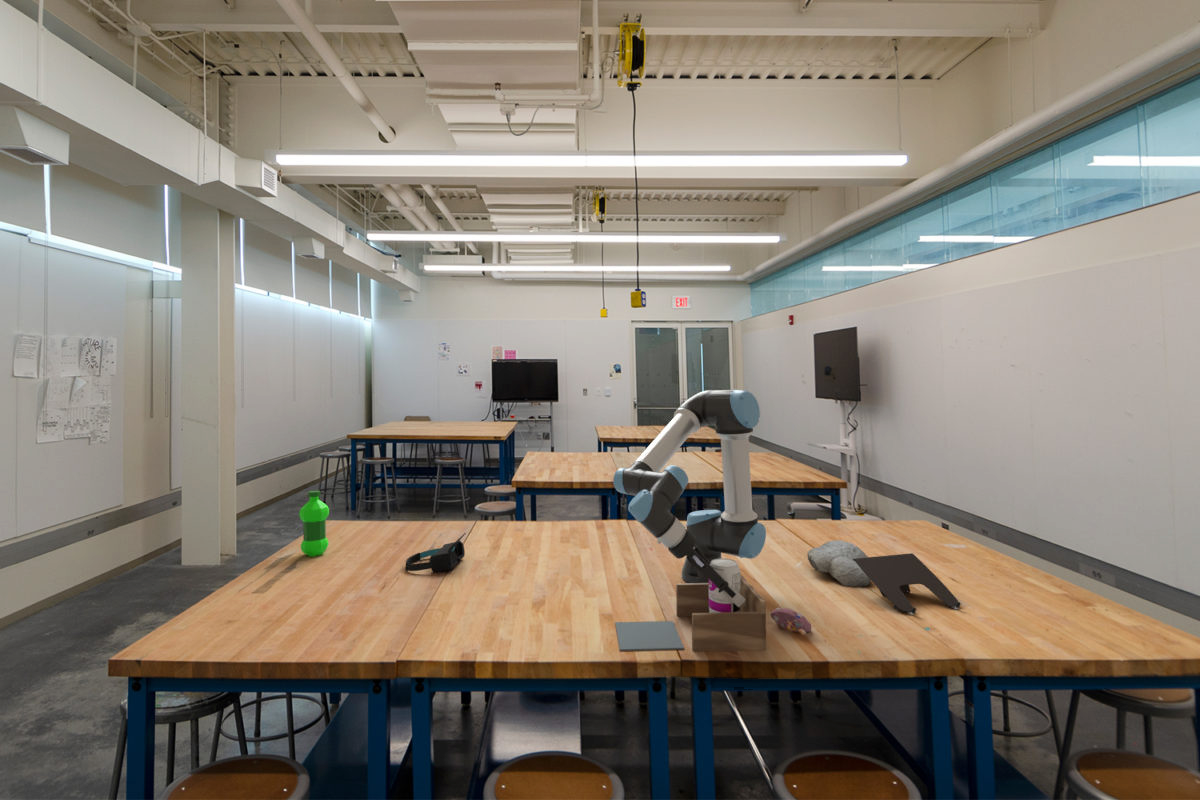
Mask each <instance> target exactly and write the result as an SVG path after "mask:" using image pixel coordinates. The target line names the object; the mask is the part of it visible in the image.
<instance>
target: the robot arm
mask: <svg viewBox="0 0 1200 800" xmlns="http://www.w3.org/2000/svg"><path fill="white" fill-rule="evenodd" d="M760 416H761V411H760V405H759V402H758V400H757V398H756V396H755V395H754V394H753V393H752V392H751V391H748V390H742V389H722V390H721V389H719V390H717V389H716V390H715V389H714V390H713V389H708V390H702V391H701V392H698V393H696V394H694V395H692V396H691V397H689V398H688V399H686V400H685V401H684V402H683V403H681V405H679V407H678V408H677V409H676V410H675V411H674V412H673V418H672V419H671V421H669V422H668V423H667V425H666V426H665V427H664V428H663V429H662V431H660V433H659V434H658V435H657V436H656V437H655V438H654V440H652V442H651V443H650V444H649V445H648V446H647V447H646V448H645V450H644V451H643V452H642V453H641V454H640V455H639V456H638V458H637V459H636V460H635V461H634V462H633V463H632V464H631V465H630V467H620V468H618V469H617V470H616V471H615V472H614V474H613V479H612V481H613V486H614V488H615V490H616V491H617V492H618V493H621V494H625V495H627V496H634V497H633V498H632V499H631V501H630V502H629V504H628V507H627V508H628V509H627V510H628V512H629V513H630V514H631V516H633V517H634V519H635V520H636V521H637V522H638V523H640V524H641V525H642V526H643V527H644V528H645V530H647V531H648V532H649V533H650V534H651V535H652V536H653V537H654V538H656V542H657V544H661V545H663V547H665V548H667V550H668V551H669V552H670V553H671V554H672V555H673V556H674V557H675V558H676V559H679V560H680V559H683V558H684V557H685V559H684V563H683V565H682V569H681V579H682V580H683V581H684V582H685V583H709V579H710V580H711V581H712V582H713V583H714V584H715V585H716V586H717V587H718V588H719V591H718V592H719V593H720V592H721V591H722V592H723V593H724V594H725V595H726V596H727V597H728V598H729V599H730V600H731V601H732V602H733V603H734V604H736V605H737V606H738V607H740V606H741V605H742V604H743V603H744V601H745V598H744V597H743V596H741V595H740V594H739V593H738V592H737V591H736V590H735V589H734V588H733V587H732V586H731V585H730V584H729V583H728V582H727V581H725V580H724V579H723V578H722V577H721V576H720V575H719V574H718V573H717V572H716V571H715V570H714V569H713V568H712V567H711V566H710V564H711V561H712V560H714V559H722V554H726V555H729V556H734V557H739V558H740V559H751V560H752V559H755V558H757V557H758V556H759V555H760V553H761V552H762V550H763V548H764V546H765V543H766V537H767V529H766V527H765V525H764V524H763V523H761V522H759V519H758V518H759V517H758V514H757V513H756V512H755V511H754V510H753V497H752V481H751V478H752V476H751V461H750V459H751V457H750V444H749V443H750V442H749V439H750V438H749V437H750V436H751V435H752V434H753V433H754V428H755V427H756V426H758V425H759V421H760ZM707 426H709V427H710V426H711V427H713V426H714V427H715V428H714V429H715V434H716V435H717V436H718V437H719V438H720V446H721V447H720V448H721V461H722V462H721V463H722V464H721V465H722V481H723V495H724V496H723V498H724V501H723V502H724V511H721V510H718V509H704V510H696V511H692V512H690V513H688V514H687V517H686V525H684V524H683V523H682V522H681V521H680V520H679V519H678V518H677V517H676V516H675V515H673V514H672V513H671V510H672V508H673V507H674V505H675V504H676V503H677V501H678V500H679V498H680V497H681V495H683V493H684V491H685V489H686V487H687V485H688V483H689V477H688V475H687V473H686V471H685V470H684V469H683V468H682V467H680V466H677V465H673V464H670V465H667V466H666V464H667V463H668V462H669V461H670V460H671V459H672V457H673V456H674V455H675V454H676V452H677V451H678V450H679V449H680V448H681V446H682V445H683V444H684V443H685V442H686V441H687V440H688V438H689V437H690V436H691V435H692V434H695V433H697V432H698V431H699V430H700V429H701V428H703V427H707ZM665 466H666V467H665ZM664 467H665V468H664ZM662 469H663V470H662ZM661 470H662V472H661Z"/></svg>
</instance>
